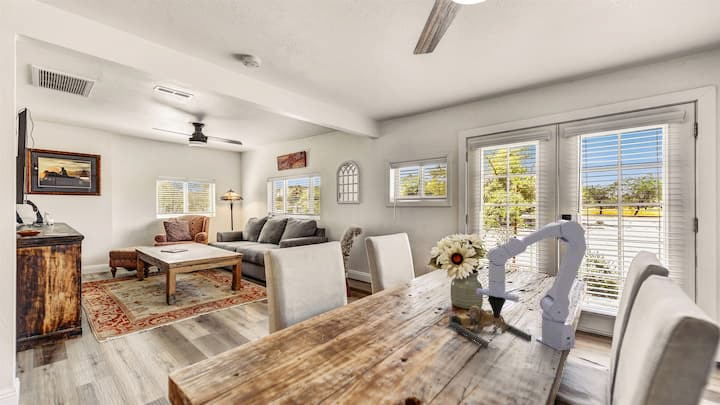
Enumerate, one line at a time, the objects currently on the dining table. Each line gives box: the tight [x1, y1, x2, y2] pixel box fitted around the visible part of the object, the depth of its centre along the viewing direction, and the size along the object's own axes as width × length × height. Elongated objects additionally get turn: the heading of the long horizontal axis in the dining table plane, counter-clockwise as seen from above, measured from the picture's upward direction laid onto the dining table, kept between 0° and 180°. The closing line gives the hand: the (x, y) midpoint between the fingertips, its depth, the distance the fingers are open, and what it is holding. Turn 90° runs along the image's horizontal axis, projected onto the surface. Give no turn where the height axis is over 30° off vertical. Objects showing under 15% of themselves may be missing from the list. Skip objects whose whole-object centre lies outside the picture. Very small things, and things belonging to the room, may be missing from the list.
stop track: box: [448, 309, 532, 349], centre depth 117 cm, size 21×20×4 cm
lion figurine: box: [469, 305, 509, 333], centre depth 120 cm, size 15×5×9 cm, turn 82°
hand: (496, 317), depth 113 cm, fingers closed
